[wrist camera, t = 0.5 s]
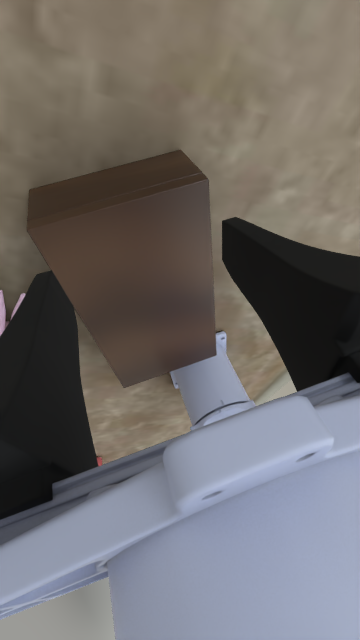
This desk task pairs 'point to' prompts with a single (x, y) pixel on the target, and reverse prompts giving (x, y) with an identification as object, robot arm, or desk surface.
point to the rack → (134, 261)
